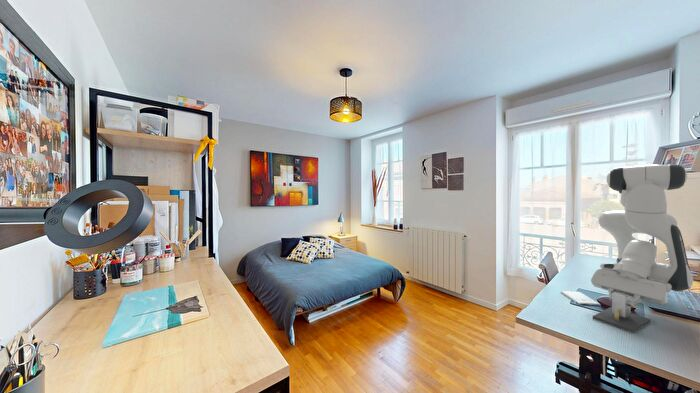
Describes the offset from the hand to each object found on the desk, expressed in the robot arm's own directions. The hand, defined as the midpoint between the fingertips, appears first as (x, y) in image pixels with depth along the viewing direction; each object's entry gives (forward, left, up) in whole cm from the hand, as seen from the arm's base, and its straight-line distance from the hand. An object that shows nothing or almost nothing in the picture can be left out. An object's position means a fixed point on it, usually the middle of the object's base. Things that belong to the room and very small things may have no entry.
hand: (620, 303), depth 96 cm
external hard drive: (-9, -16, -8) cm, 20 cm away
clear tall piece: (-1, 0, -4) cm, 4 cm away
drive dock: (-1, 0, -7) cm, 7 cm away
